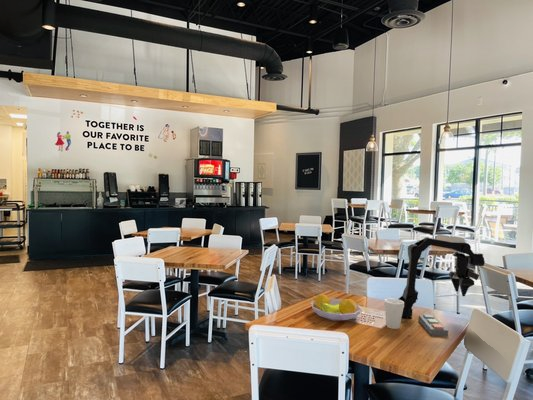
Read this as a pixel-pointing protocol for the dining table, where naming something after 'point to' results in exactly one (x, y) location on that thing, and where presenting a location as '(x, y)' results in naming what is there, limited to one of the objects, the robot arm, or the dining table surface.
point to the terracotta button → (437, 326)
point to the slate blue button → (428, 316)
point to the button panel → (430, 329)
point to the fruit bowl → (335, 308)
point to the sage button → (432, 321)
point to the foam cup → (393, 312)
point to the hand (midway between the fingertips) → (460, 293)
